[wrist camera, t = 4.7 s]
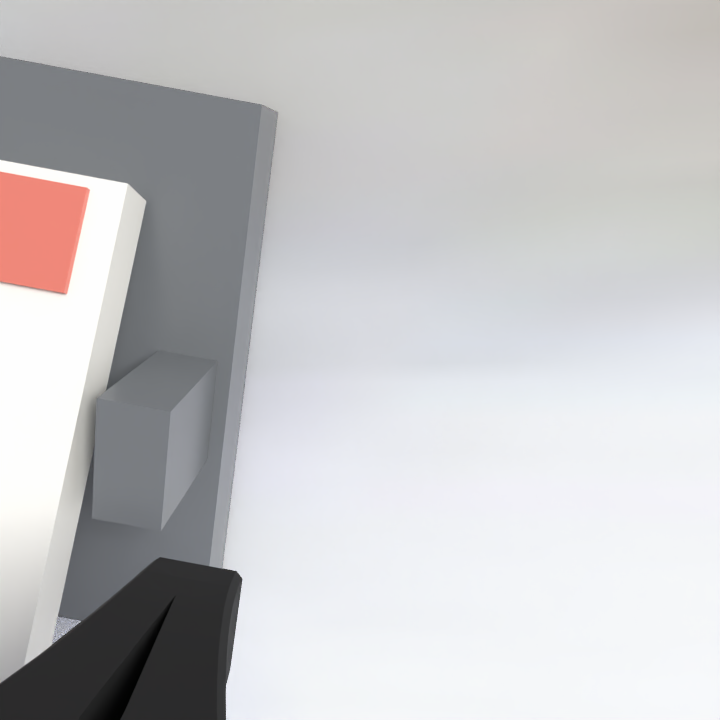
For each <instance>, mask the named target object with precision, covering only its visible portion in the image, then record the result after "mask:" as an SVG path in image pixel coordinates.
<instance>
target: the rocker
mask: <svg viewBox="0 0 720 720" xmlns="http://www.w3.org/2000/svg"><path fill="white" fill-rule="evenodd" d="M145 206H146V200H145V199H144V198H142V197H141V196H140V195H139V194H138V193H137V192H136V191H135V190H134V189H133V188H132V187H131V186H130V185H129V184H127V183H122V182H117V181H111V180H106V179H100V178H95V177H90V176H84V175H79V174H73V173H68V172H63V171H57V170H52V169H46V168H41V167H36V166H30V165H25V164H19V163H14V162H9V161H3V160H0V683H1V682H2V681H4V680H5V679H6V678H8V677H9V676H11V675H12V674H13V673H15V672H16V671H18V670H19V669H20V668H22V667H23V666H24V665H26V664H27V663H29V662H30V661H31V660H33V659H34V658H35V657H37V656H38V655H39V654H41V653H42V652H43V651H45V650H46V649H47V648H49V647H50V646H51V645H52V641H53V637H54V632H55V627H56V622H57V618H58V613H59V608H60V604H61V599H62V594H63V590H64V585H65V580H66V576H67V571H68V566H69V562H70V557H71V552H72V548H73V543H74V538H75V533H76V529H77V524H78V519H79V515H80V510H81V505H82V501H83V496H84V491H85V487H86V482H87V477H88V473H89V468H90V463H91V459H92V454H93V449H94V445H95V426H96V400H97V397H98V396H100V395H101V394H102V393H104V392H105V391H106V388H107V384H108V379H109V374H110V370H111V365H112V360H113V356H114V351H115V346H116V341H117V337H118V332H119V327H120V323H121V318H122V313H123V309H124V304H125V299H126V295H127V290H128V285H129V281H130V276H131V271H132V267H133V262H134V257H135V252H136V248H137V243H138V238H139V234H140V229H141V224H142V220H143V215H144V210H145Z"/></svg>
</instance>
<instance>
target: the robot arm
mask: <svg viewBox="0 0 720 720" xmlns="http://www.w3.org/2000/svg"><path fill="white" fill-rule="evenodd" d="M241 585H242V578H241V577H240V575H239V574H238V573H237V571H233V570H227V569H222V568H216V567H211V566H206V565H200V564H195V563H190V562H184V561H179V560H173V559H168V558H163V557H159V558H158V559H156V560H154V561H153V562H152V563H150V564H149V565H148V566H147V567H146V568H145V569H143V570H142V571H141V572H140V573H139V574H138V575H136V576H135V577H134V578H133V579H132V580H131V581H130V582H128V583H127V584H126V585H125V586H124V587H123V588H121V589H120V590H119V591H118V592H117V593H116V594H114V595H113V596H112V597H111V598H110V599H108V600H107V601H106V602H105V603H104V604H102V605H101V606H100V607H99V608H98V609H96V610H95V611H94V612H93V613H92V614H90V615H89V616H88V617H87V618H85V619H84V620H83V621H81V622H80V623H79V624H78V625H76V626H75V627H74V628H73V629H71V630H70V631H69V632H68V633H66V634H65V635H64V636H63V637H61V638H60V639H59V640H57V641H56V642H55V643H54V644H52V645H51V646H50V647H49V648H47V649H46V650H45V651H43V652H42V653H41V654H39V655H38V656H37V657H35V658H34V659H33V660H31V661H30V662H29V663H27V664H26V665H24V666H23V667H22V668H20V669H19V670H18V671H16V672H15V673H13V674H12V675H11V676H9V677H8V678H6V679H5V680H4V681H2V682H1V683H0V720H226V683H227V679H228V675H229V671H230V666H231V659H232V651H233V644H234V636H235V629H236V622H237V614H238V607H239V600H240V592H241Z"/></svg>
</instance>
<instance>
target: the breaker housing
mask: <svg viewBox="0 0 720 720" xmlns="http://www.w3.org/2000/svg"><path fill="white" fill-rule="evenodd" d="M277 116H278V112H276V111H274V110H272V109H270V108H268V107H266V106H264V105H261V104H255V103H250V102H244V101H239V100H234V99H228V98H223V97H217V96H212V95H207V94H201V93H196V92H190V91H185V90H180V89H174V88H169V87H163V86H158V85H152V84H147V83H142V82H136V81H131V80H125V79H120V78H115V77H109V76H104V75H98V74H93V73H88V72H82V71H77V70H71V69H66V68H61V67H55V66H50V65H44V64H39V63H33V62H28V61H23V60H17V59H12V58H6V57H1V56H0V160H3V161H9V162H14V163H19V164H25V165H30V166H36V167H41V168H46V169H52V170H57V171H63V172H68V173H73V174H79V175H84V176H90V177H95V178H100V179H106V180H111V181H117V182H122V183H127V184H129V185H130V186H131V187H132V188H133V189H134V190H135V191H136V192H137V193H138V194H139V195H140V196H141V197H142V198H144V199H145V200H146V206H145V210H144V215H143V220H142V224H141V229H140V234H139V238H138V243H137V248H136V252H135V257H134V262H133V267H132V271H131V276H130V281H129V285H128V290H127V295H126V299H125V304H124V309H123V313H122V318H121V323H120V327H119V332H118V337H117V341H116V346H115V351H114V356H113V360H112V365H111V370H110V374H109V379H108V384H107V388H106V391H105V392H104V393H102V394H101V395H100V396H98V397H97V400H96V426H95V445H94V449H93V454H92V459H91V463H90V468H89V473H88V477H87V482H86V487H85V491H84V496H83V501H82V505H81V510H80V515H79V519H78V524H77V529H76V533H75V538H74V543H73V548H72V552H71V557H70V562H69V566H68V571H67V576H66V580H65V585H64V590H63V594H62V599H61V604H60V608H59V613H58V616H59V617H65V618H70V619H75V620H81V621H83V620H84V619H85V618H87V617H88V616H89V615H90V614H92V613H93V612H94V611H95V610H96V609H98V608H99V607H100V606H101V605H102V604H104V603H105V602H106V601H107V600H108V599H110V598H111V597H112V596H113V595H114V594H116V593H117V592H118V591H119V590H120V589H121V588H123V587H124V586H125V585H126V584H127V583H128V582H130V581H131V580H132V579H133V578H134V577H135V576H136V575H138V574H139V573H140V572H141V571H142V570H143V569H145V568H146V567H147V566H148V565H149V564H150V563H152V562H153V561H154V560H156V559H158V558H159V557H163V558H168V559H173V560H179V561H184V562H190V563H195V564H200V565H206V566H211V567H216V568H222V566H223V558H224V550H225V542H226V533H227V525H228V517H229V509H230V501H231V493H232V484H233V476H234V468H235V460H236V452H237V443H238V435H239V427H240V419H241V411H242V403H243V394H244V386H245V378H246V370H247V362H248V354H249V345H250V337H251V329H252V321H253V313H254V304H255V296H256V288H257V280H258V272H259V264H260V255H261V247H262V239H263V231H264V223H265V214H266V206H267V198H268V190H269V182H270V174H271V165H272V157H273V149H274V141H275V133H276V124H277Z"/></svg>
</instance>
